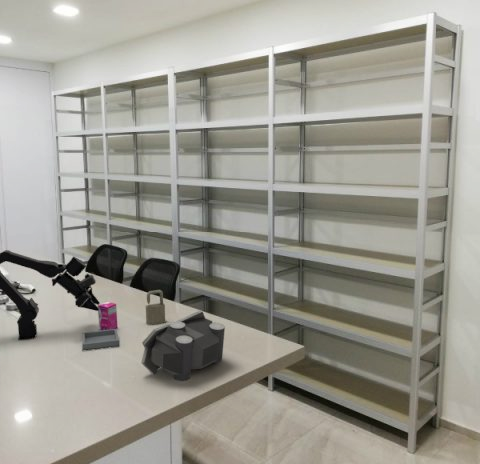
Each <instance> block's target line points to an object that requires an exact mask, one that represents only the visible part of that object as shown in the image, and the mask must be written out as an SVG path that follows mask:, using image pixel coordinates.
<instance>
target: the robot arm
mask: <svg viewBox="0 0 480 464" xmlns="http://www.w3.org/2000/svg"><path fill="white" fill-rule="evenodd" d="M5 262H6V263H7V262H8V263H11V264H13V265H18V266H21V267H23V268H28V269H30V270H34V271H36V272H38V273H39V274H40V275H42V276H45V277H46V278H49V279H51V282H52V287H55V285H56V284H58V285H59V286H60V287H62V288H63V289H64V290H66V293H67V294H71V296H73V298H74V299H75V301H74V302H75V306H76V307H78V308H83V309H86V310H87V309H88V310H92V311H96V312H98V310H99V308H98V305H100V303H101V302H100V301H99V300H98V298H97V297H96V295H95V294H94V293H93V287H92V286H93V285H96V281H97V280H96V279H95V276H93V274H89V273H86V274H85V275H84V278H83V279H81V280H80V279H76V278H74V277H78V276H79V275H80V274H81V273H82V272H83V271H84V270H85V268H86V267H87V265H86V263H85V262H84V261H83V260H81V259H80V258H77V257H76V256H72V257H71V259H70V260H69V262H67V263H66V264H63V263H58V262H56V261H52V260H51V261H50V260H41V259H36V258H32V257H29V256H26V255H24V254H19V253H17V252H13V251H11V250H9V249H6V250H3V251H1V252H0V265H1V264H4V263H5ZM0 290H1V291H2V292H3V293H4V295H6V297H7V298H9V299H10V300H11V301H12V303H14V304H15V306H16V308H17V309H18V312H19V314H20V315H19V317H18V319H17V321H16V324H17V326H18V327H17V329H18V341H22V340H31V339H36V336H37V334H38V330H37V329H38V327H37V324H36V321H35V319H36V318H37V316H38V314H39V311H40V308H39V303H37V302H36V301H35V300H34V299H33V298H32V297H30V298H29V299H28V298H26V297H25V296H24V295H23V294H22V293H21V292H20V291H19V290H18V289H17V288H16V287H15V285H14V284H12V282H10V281H9V279H8V278H7V277H6V276H5V275H4V274H3V273H2V271H1V270H0Z"/></svg>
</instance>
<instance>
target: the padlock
mask: <svg viewBox="0 0 480 464" xmlns="http://www.w3.org/2000/svg"><path fill="white" fill-rule="evenodd" d="M154 294H159V303H152V304H150V302H151V295H154ZM146 302H147V304H148V305H145V322H146V324H147V325H148V326H149V325H157V324H162V323H166V304H165V303H164V293H163V291H162V290H161V289H155V290H149V291H148V292H147V294H146Z"/></svg>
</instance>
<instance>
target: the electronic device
mask: <svg viewBox="0 0 480 464" xmlns="http://www.w3.org/2000/svg"><path fill="white" fill-rule="evenodd" d="M225 329H226V326H225V324H223V323H222V322H213V321H212V320H211V319H208V318H206V316H205V314H204V312H203V310H202V309H200V310H198V311H196V312H193V313H191V314H189V315H187V316H184V317H183V318H180V319H178V320H175V321H172V322H170V323H167V324H165V325H162V326H157V327H155V328H154V329H152V330H151V332H150V333H149V334H148V335H147V337H146V338H144V339H143V341H142V342H141V344H142V346H143V347H144V350H143V355H142V358H141V364H142V365H143V366H144V368H146V370H148V371H149V372H150V373H151V374H152V373H153V374H152V375H155V374H156V373H157V372H158V371H159V370H160V369H162V370H164V371H165V372H168V373H169V374H171V375H173V378H174V380H176V381H178V382H186V381H188V380H189V379H190V378H191V373H192V372H191V371H192V370H196V369H197V370H198V369H203V368H204V367H207V366H209V365H211V364H213V363H219V362H221V361H223V353H224V340H225Z"/></svg>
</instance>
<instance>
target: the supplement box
mask: <svg viewBox="0 0 480 464" xmlns="http://www.w3.org/2000/svg"><path fill="white" fill-rule="evenodd" d="M97 307H98V308H99V310H98V311H97V315H98V317H97V318H98V331H102V330H110V329H117V330H118V313H117V303H116V302H115V303H113V302H109V301H106V302H103V303H101V304H99V305H97Z"/></svg>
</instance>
